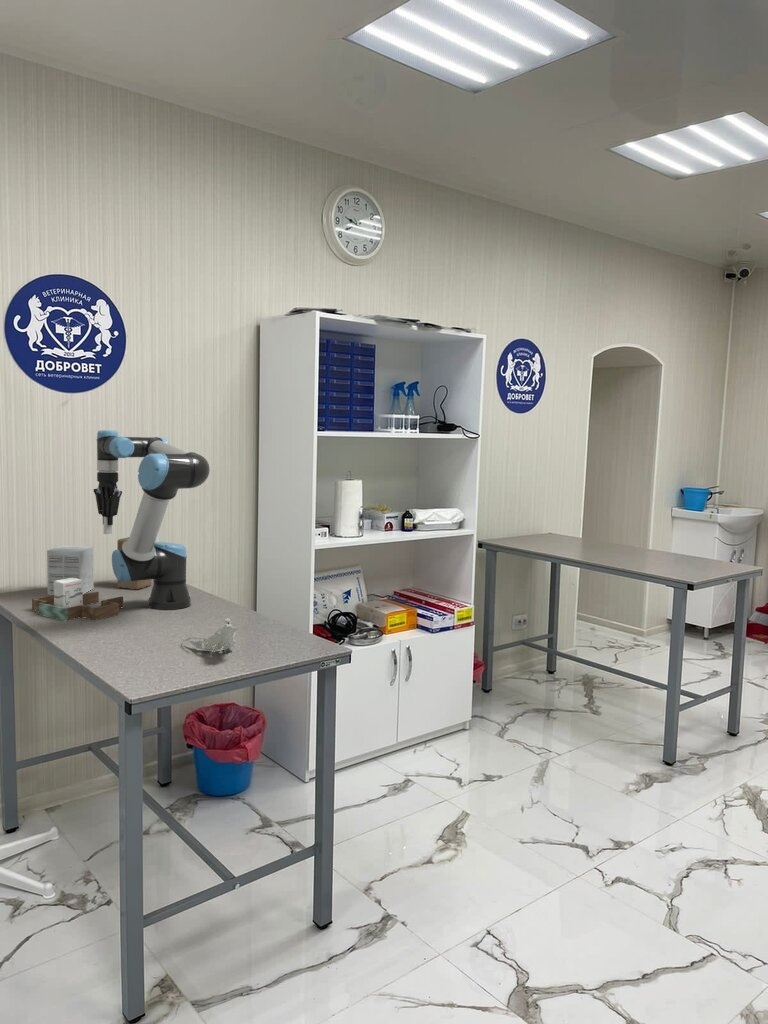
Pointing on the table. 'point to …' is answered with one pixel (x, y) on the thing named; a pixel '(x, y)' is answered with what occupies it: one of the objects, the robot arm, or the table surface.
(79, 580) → the ink box
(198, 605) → the table surface
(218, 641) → the bird figurine
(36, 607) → the brown wooden tray
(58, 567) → the supplement box
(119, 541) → the block
